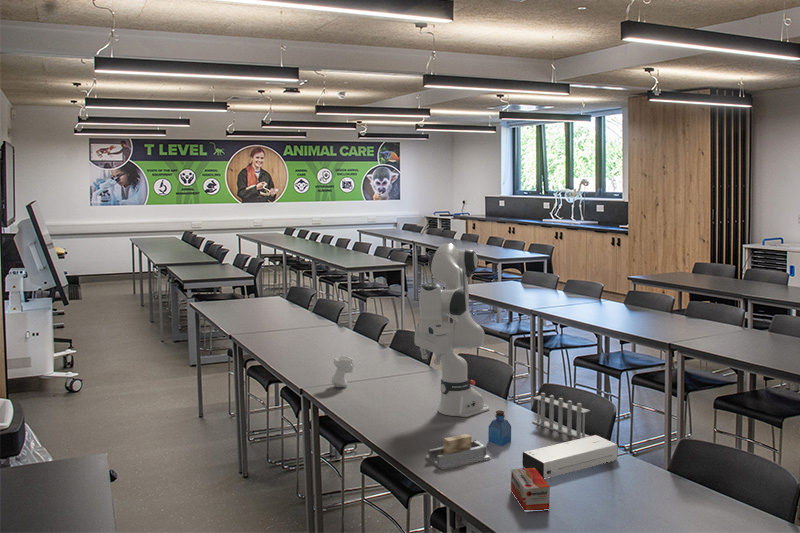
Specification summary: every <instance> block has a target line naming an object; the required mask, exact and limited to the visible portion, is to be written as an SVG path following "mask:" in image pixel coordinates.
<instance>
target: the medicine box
mask: <svg viewBox="0 0 800 533" xmlns="http://www.w3.org/2000/svg"><path fill="white" fill-rule="evenodd" d="M510 471H511V473H510V475H511V476H510V492H511V491H512V492H513V494H514V495H515V497H516V498H517V500H518V501H519V503H520V504H521V506H522V507H523V509H524V510H544V509H549V510H550V491H551V490H550V488H551V486H550V485H549V484H548V482H547V481H546V479H544V478H543V477H542V476H541V475H540V473H539V472H538V471H537V470H536V468H524V467H523V468H511V469H510ZM512 492H511V493H512ZM513 494H512V495H513ZM514 495H513V496H514ZM515 497H514V498H515ZM517 500H516V501H517ZM519 503H518V504H519ZM521 506H520V507H521ZM523 509H522V510H523Z"/></svg>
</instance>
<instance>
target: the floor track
mask: <svg viewBox="0 0 800 533" xmlns="http://www.w3.org/2000/svg"><path fill="white" fill-rule="evenodd" d="M425 459H426V460H428V462H430V463H431V464H433V465H434V466H436V467H437V468H439V469H440V470H442V471H446V470H449V469H448V468H450V469H453V467H454V468H457V466H459V467H463V466H466V464H467V465H471V464H470V463H472V464H475V463H474V462H476V463H479V462H478V461H480V462H483V461H482V460H484V461H487V460H486V459H489V460H491V456H489V454H487V445H486V444H483V443H481V442H480V441H478V440H476V439H473V440H472V448H469V449H464V450H460V451H455V452H451V453H446V454H444V446H440V447H435V448H431V449H428V454H426V455H425ZM462 465H463V466H462ZM445 469H446V470H445Z"/></svg>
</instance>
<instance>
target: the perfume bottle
mask: <svg viewBox="0 0 800 533" xmlns="http://www.w3.org/2000/svg"><path fill="white" fill-rule="evenodd" d="M504 413H505V411H504V410H496V411H495V415H494V416H495V419H492V421H491V422H490V424H489V425H488V430H487V431H488V437H487V438H488V439H487V440H488V441H487V442H488V443H491V444H494V445H496V446H499V447H503V446H505V445H507V444H509V443H511V442H512V425H511V423H510V422H509V420H508V419H505V414H504Z"/></svg>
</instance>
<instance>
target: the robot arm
mask: <svg viewBox="0 0 800 533" xmlns="http://www.w3.org/2000/svg"><path fill="white" fill-rule="evenodd" d="M478 264H479V259H478V256H477V253H476V251H474V250H473V249H468V248H466V249H457V246H455V245H454V244H452V243H443V244H442V243H441V245H440V246H438V248H437V249H436V251H435V252H433V253H432V254H431V255H430V256H429V258H428V264H427V266H428V270H429V272H430V273H431V274H432V275H433V277H434V278H435V279H436V280H437V281H439V282H442V283H445V284H444V289H442V288H441V285H440V284H438V283H435V282H427V283H424V284H422V285H421V286H420V290H419V296H418V309H419V317H418V323H417V324H416V328H415V330H414V346H417V347H419V350H420V353H421V358H422V359H423V360H428V354H427V351H428V352H431V353H433V354H434V356H435V358H434V359H433V364H434V365H435V366H437V365H440V364H441V379H440V392H441V394H440V395H441V396H440V401H439V407H438V409H437V410H438V412H439V414H441V415H445V416H453V417H462V418H467V417H470V416H473V415H479V414H480V413H484V412H486V411H489V410H490V408H489V406H488V404H486V403H484V402H485V401H484V398H483V395H482V394H481V393H480V392H479V391H477V390H476V389H474V387H472V386H474V385H476V380H473V379H469V378H468V362H467V361H466V359H464V357H462V356H461V355H458V354H457V353H455V351H454V349H460V350H461V349H462V350H465V349H466V350H472V349H477V348H481V347H482V346H483V344H484V342H485V340H486V339H485V338H486V336H485V335H486V334H485V331H484V328H483V327H482V326H481V325H480V324H478V323H477V322H476V321H475V320H474V319H473V317H472V315H471V313H470V307H469V306H470V304H469V302H470V301H469V299H470V298H469V294H470V293H469V291H470V288H469V282H468V278H471V276H472V274H474V273H475V272H476V270H477V268H478ZM442 315H446V316H447V317H449V318H451V319H452V320H454V321H456V322H450V323H449V322H443V316H442Z"/></svg>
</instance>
